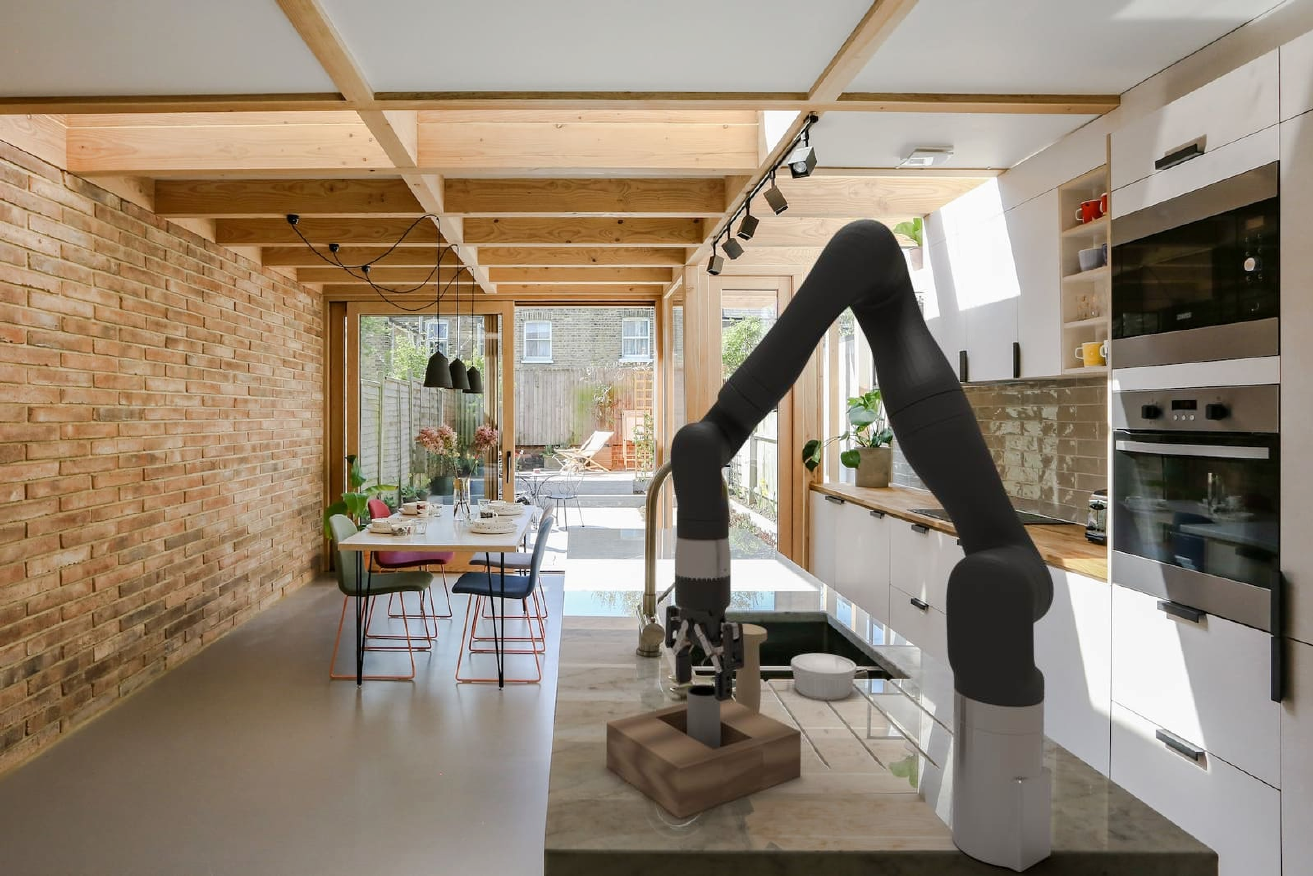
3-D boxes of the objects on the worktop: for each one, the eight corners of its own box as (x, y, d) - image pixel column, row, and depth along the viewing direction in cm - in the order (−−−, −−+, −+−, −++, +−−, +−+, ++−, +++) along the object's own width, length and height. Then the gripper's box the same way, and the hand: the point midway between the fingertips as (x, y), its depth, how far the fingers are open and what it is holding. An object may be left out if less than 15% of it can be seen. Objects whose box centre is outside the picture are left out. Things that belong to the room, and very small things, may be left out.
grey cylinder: (699, 755, 108) (700, 682, 108) (726, 764, 105) (727, 689, 105) (680, 766, 104) (680, 690, 104) (707, 776, 101) (707, 698, 101)
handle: (745, 734, 117) (746, 635, 117) (724, 719, 123) (724, 625, 123) (772, 729, 119) (773, 632, 119) (749, 714, 125) (750, 622, 125)
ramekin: (869, 698, 133) (869, 668, 133) (814, 707, 129) (814, 675, 129) (831, 678, 144) (831, 650, 143) (779, 685, 139) (779, 656, 139)
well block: (800, 776, 103) (800, 731, 103) (679, 818, 92) (679, 768, 92) (720, 733, 117) (720, 694, 117) (606, 766, 106) (606, 722, 106)
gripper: (759, 575, 100) (759, 700, 101) (692, 560, 112) (692, 672, 112) (714, 582, 96) (714, 712, 96) (649, 565, 108) (650, 681, 108)
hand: (702, 690), depth 104 cm, fingers open, 8 cm apart
